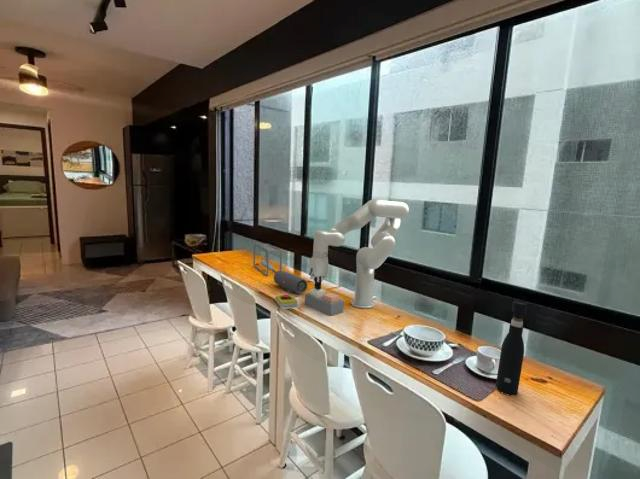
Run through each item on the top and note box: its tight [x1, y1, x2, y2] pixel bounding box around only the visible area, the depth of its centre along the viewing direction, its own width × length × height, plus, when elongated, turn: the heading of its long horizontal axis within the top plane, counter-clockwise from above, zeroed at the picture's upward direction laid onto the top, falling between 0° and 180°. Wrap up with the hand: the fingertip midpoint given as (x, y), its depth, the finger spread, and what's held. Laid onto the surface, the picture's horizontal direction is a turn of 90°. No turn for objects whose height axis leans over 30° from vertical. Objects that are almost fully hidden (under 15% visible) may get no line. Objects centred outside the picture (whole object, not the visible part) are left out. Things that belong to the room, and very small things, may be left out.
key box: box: [304, 292, 345, 317], centre depth 178 cm, size 9×19×6 cm, turn 44°
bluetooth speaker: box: [273, 270, 308, 294], centre depth 205 cm, size 23×9×10 cm, turn 42°
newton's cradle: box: [252, 243, 283, 277], centre depth 246 cm, size 30×10×18 cm, turn 28°
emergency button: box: [274, 294, 300, 310], centre depth 182 cm, size 9×4×15 cm
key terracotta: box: [323, 292, 341, 303], centre depth 174 cm, size 6×6×5 cm
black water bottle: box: [495, 300, 528, 396], centre depth 111 cm, size 6×6×30 cm
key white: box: [309, 288, 327, 298], centre depth 181 cm, size 6×6×5 cm
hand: (317, 288), depth 180 cm, fingers closed
